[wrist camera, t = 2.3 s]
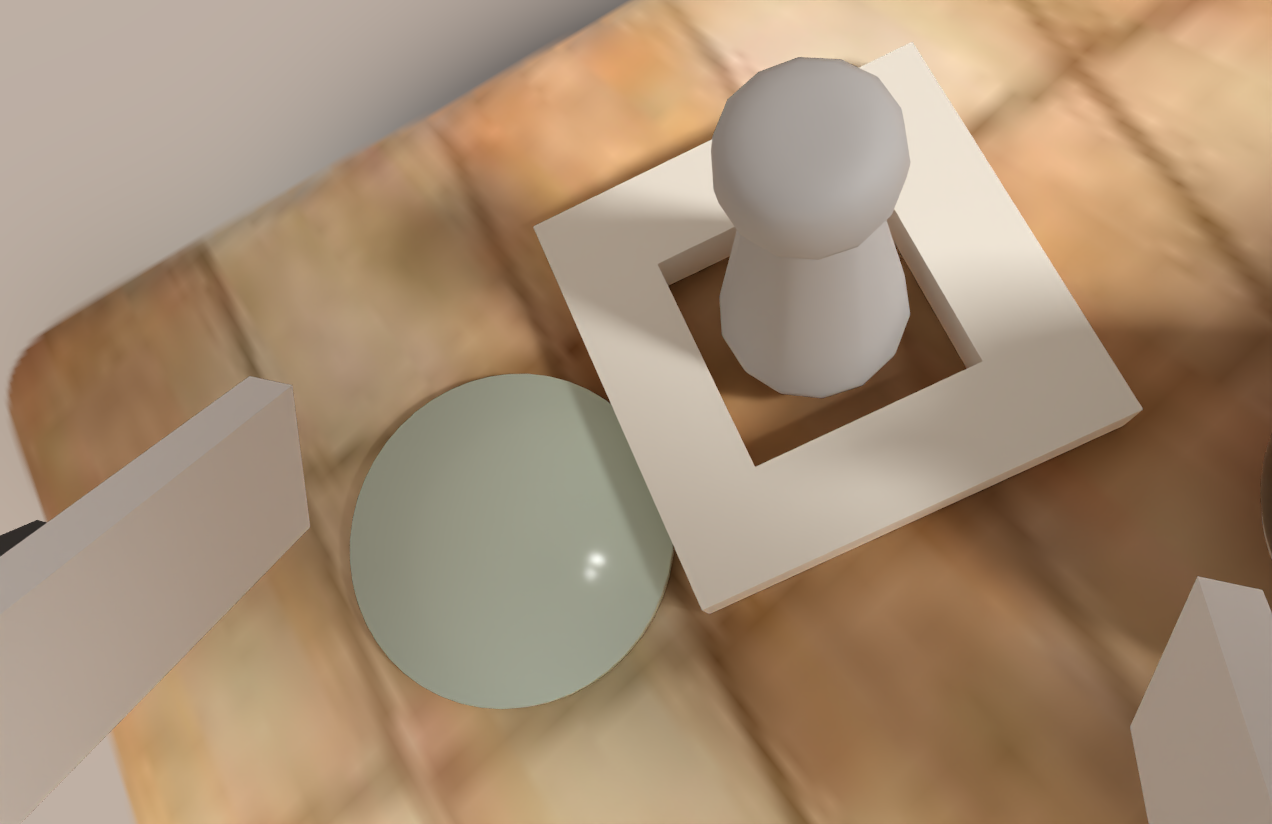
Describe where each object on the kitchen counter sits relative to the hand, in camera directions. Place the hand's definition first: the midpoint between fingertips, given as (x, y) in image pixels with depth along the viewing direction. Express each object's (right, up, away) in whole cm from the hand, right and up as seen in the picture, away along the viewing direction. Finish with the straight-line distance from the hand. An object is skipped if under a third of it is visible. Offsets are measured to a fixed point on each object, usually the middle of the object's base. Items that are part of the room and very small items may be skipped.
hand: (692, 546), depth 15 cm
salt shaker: (+5, +5, +19) cm, 20 cm away
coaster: (-5, -2, +19) cm, 19 cm away
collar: (+5, +5, +18) cm, 20 cm away
